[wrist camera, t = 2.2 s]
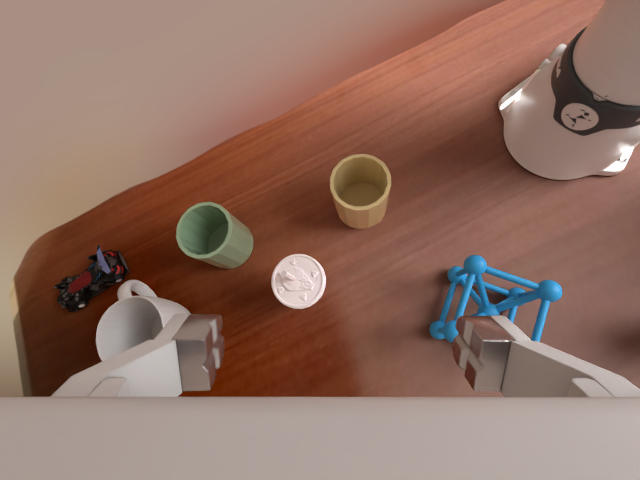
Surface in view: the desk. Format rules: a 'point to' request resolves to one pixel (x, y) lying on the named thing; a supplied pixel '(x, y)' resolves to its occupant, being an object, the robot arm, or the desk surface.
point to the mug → (133, 319)
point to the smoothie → (298, 281)
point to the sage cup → (214, 236)
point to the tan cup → (360, 190)
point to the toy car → (92, 279)
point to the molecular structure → (515, 297)
